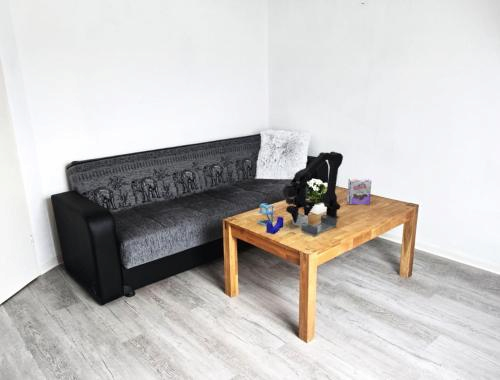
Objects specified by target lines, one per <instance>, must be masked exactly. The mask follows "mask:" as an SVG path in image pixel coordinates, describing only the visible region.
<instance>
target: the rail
mask: <svg viewBox="0 0 500 380" xmlns="http://www.w3.org/2000/svg"><path fill="white" fill-rule="evenodd" d="M337 219H338V218H334V217H330V216H327V215H326V214H322V215H321V216H320V222H319V223H316V224H310V223H309V222H308V223H302V226H301V227H300V229H301V233H302V234H306V235H308V236H311V237H316V236H318V235H320V234H323V233H324V232H327V231H329V230H331V229H333V228H335V227H337V223H338V221H337Z"/></svg>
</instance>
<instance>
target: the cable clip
mask: <svg viewBox="0 0 500 380" xmlns="http://www.w3.org/2000/svg"><path fill="white" fill-rule="evenodd" d="M273 223H274V222H272V223H271V222H270V221H267V222H266V223H265V224H266V226H265V227H266V231H265V232H266V233H267V232H268V233H267V234H270V233H271V234H270V235H274V234H277V233H279V232H280V229H282V228H284V217H283V216H277V217H276V222H275V225H274V224H273ZM278 231H279V232H278Z"/></svg>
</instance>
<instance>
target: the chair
mask: <svg viewBox="0 0 500 380" xmlns="http://www.w3.org/2000/svg"><path fill="white" fill-rule="evenodd" d="M274 207H275V205H271V204H268V203H265V202H263V203H261V204H259V211H258V214H262V215H265V216H266V218H267V219H262V220H258V221H257V222H256V223H257V224H258V223H259V224H258V225H261V224H262V225H261V226H264V227H266V223H265V222H271V223H274V215H275V211H274ZM269 208H271V209H269Z"/></svg>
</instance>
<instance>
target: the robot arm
mask: <svg viewBox="0 0 500 380" xmlns="http://www.w3.org/2000/svg"><path fill="white" fill-rule="evenodd" d="M343 160H344V155H343V154H342V153H341V152H336V151H330V152H323V151H322V152H319V153H318V155H317V156H316V157H315V158H314V159H313V160H312V161H311V162H310V163H309V164H308V165H307V166H306V167H304V168H302V169H300V170H298V171H297V172H296V173H294V176H293V179H292V180H291V182H290V184H286V185H284V188H283V190H282V194H283V196H284V198H285V203H286V205H288V206H287V207H286V210H285V211H286V212H287V213H289V214H290V215H291V217H292V222H293V221H294V223H296V221H297V218H298V214H299V213H300V212H299V211H300V209H303V215H306V216H308V217H309V214H310V213H311V211H312V209H314V207H315V205H316V204H315V201H314V200H310V199H308V196H307V188H308V187H310V184H309V183H308V182H309V180H310V179H311V177H312V175H313V174H314V172H316V171H317V170H318V168H320V167H321V166H322V164H324V163H325V162H326V161H327V163H328V166H329V169H328V170H329V171H328V177H327V185H326V191H325V192H324V193H322V196H321V197H322V198H321V202H322V204H323V206H324V207H326V211H325V213H326V214H325V215H327V216H330V217H334V218H337V219H339V218H340V217H339V216H338V210H340V208H341V205H340V203H338V196H337V193H336V187H337V180H338V173H339V168H340V167H341V166H342V164H343Z"/></svg>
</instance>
